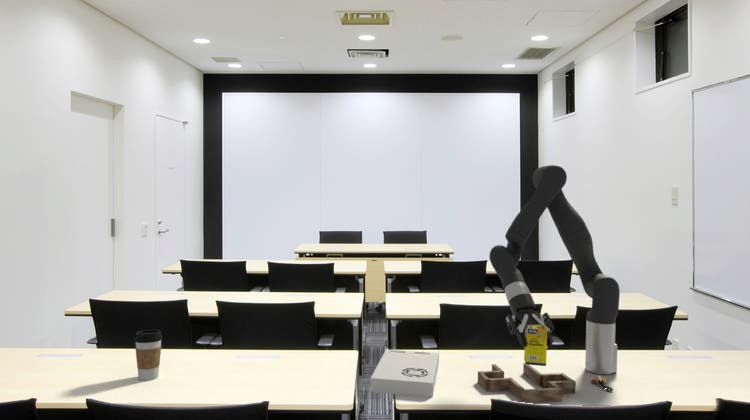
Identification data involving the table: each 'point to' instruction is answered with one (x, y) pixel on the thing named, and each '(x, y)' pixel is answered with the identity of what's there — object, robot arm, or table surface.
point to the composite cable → (600, 382)
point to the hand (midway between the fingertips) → (538, 345)
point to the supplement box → (536, 345)
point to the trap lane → (550, 383)
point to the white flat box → (406, 373)
